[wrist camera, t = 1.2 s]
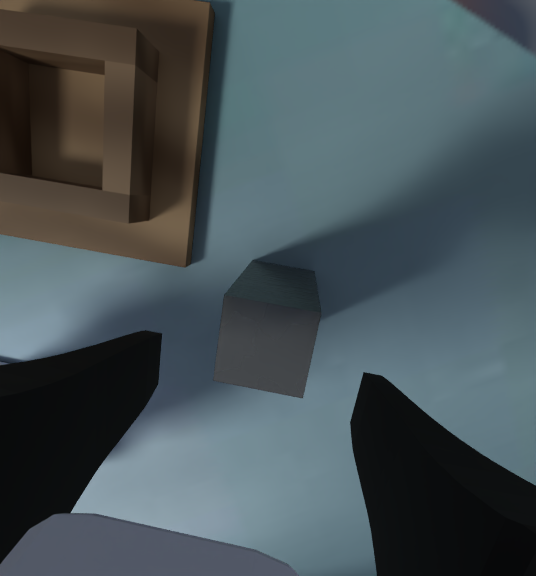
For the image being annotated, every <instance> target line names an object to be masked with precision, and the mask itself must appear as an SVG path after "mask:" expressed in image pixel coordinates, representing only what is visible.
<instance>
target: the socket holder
mask: <svg viewBox="0 0 536 576" xmlns="http://www.w3.org/2000/svg"><path fill="white" fill-rule="evenodd" d="M214 17H215V13H214V10H213V8H212V6H211V4H210V3H209V2H202V1H195V0H0V234H3V235H8V236H14V237H19V238H25V239H30V240H36V241H41V242H47V243H52V244H58V245H64V246H69V247H75V248H80V249H86V250H91V251H97V252H102V253H108V254H113V255H119V256H124V257H130V258H135V259H141V260H146V261H152V262H157V263H163V264H169V265H174V266H180V267H187V266H189V265H191V255H192V244H193V234H194V224H195V213H196V203H197V193H198V182H199V172H200V162H201V151H202V141H203V131H204V120H205V110H206V100H207V89H208V79H209V68H210V58H211V48H212V37H213V27H214Z"/></svg>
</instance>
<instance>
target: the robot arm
mask: <svg viewBox="0 0 536 576" xmlns="http://www.w3.org/2000/svg"><path fill="white" fill-rule="evenodd" d="M161 340H162V333H157V332H151V331H146V330H145V331H140V332H136V333H132V334H129V335H125V336H122V337H119V338H116V339H112V340H109V341H106V342H103V343H100V344H96V345H93V346H89V347H86V348H82V349H79V350H75V351H71V352H68V353H64V354H60V355H55V356H51V357H46V358H41V359H36V360H31V361H25V362H19V363H12V364H9V363H4V362H0V576H299V575H298V574H297V573H296V572H295V571H294V569H293V568H292V567H291V566H289V565H288V564H287V563H284V562H282V561H280V560H278V559H275V558H273V557H271V556H269V555H266V554H264V553H262V552H260V551H257V550H255V549H250V548H246V547H241V546H237V545H233V544H228V543H224V542H219V541H215V540H210V539H206V538H201V537H197V536H193V535H188V534H184V533H179V532H175V531H170V530H166V529H161V528H157V527H153V526H148V525H144V524H139V523H135V522H130V521H126V520H121V519H117V518H113V517H108V516H104V515H99V514H88V513H71V511H72V509H73V508H74V506H75V504H76V503H77V501H78V499H79V498H80V496H81V495H82V493H83V491H84V490H85V488H86V487H87V485H88V484H89V482H90V480H91V479H92V477H93V476H94V474H95V472H96V471H97V470H98V468H99V467H100V465H101V464H102V463H103V461H104V460H105V458H106V457H107V456H108V455H109V453H110V452H111V451H112V449H113V448H114V447H115V446H116V444H117V443H118V442H119V440H120V439H121V438H122V437H123V435H124V434H125V433H126V431H127V430H128V429H129V428H130V426H131V425H132V424H133V422H134V421H135V420H136V418H137V417H138V416H139V414H140V413H141V412H142V410H143V409H144V408H145V406H146V405H147V403H148V401H149V399H150V398H151V396H152V394H153V392H154V391H155V389H156V387H157V385H158V380H159V367H160V353H161ZM350 425H351V437H352V447H353V453H354V457H355V462H356V466H357V471H358V475H359V479H360V483H361V488H362V492H363V496H364V500H365V504H366V509H367V513H368V517H369V523H370V528H371V533H372V541H373V548H374V556H375V563H376V571H377V576H536V486H535V485H534V484H532V483H530V482H528V481H526V480H524V479H522V478H521V477H519V476H517V475H515V474H514V473H512V472H510V471H509V470H507V469H505V468H504V467H502V466H500V465H498V464H497V463H495V462H493V461H492V460H490V459H489V458H487V457H485V456H484V455H482V454H481V453H479V452H478V451H476V450H475V449H473V448H472V447H470V446H469V445H467V444H466V443H464V442H463V441H462V440H460V439H459V438H457V437H456V436H455V435H453V434H452V433H450V432H449V431H448V430H447V429H445V428H444V427H443V426H441V425H440V424H439V423H438V422H436V421H435V420H434V419H432V418H431V417H430V416H429V415H428V414H426V413H425V412H424V411H423V410H422V409H420V408H419V407H418V406H417V405H416V404H415V403H413V402H412V401H411V400H410V399H409V398H408V397H407V396H406V395H404V394H403V393H402V392H401V391H400V390H399V389H398V388H396V387H395V386H394V385H393V384H392V383H391V382H389V381H388V380H387V379H386V378H384V377H383V376H381V375H376V374H370V373H365V372H364V373H363V377H362V381H361V384H360V388H359V392H358V395H357V399H356V403H355V407H354V410H353V414H352V418H351V421H350Z"/></svg>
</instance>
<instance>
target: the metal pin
mask: <svg viewBox="0 0 536 576" xmlns="http://www.w3.org/2000/svg"><path fill="white" fill-rule="evenodd" d="M320 317H321V308H320V302H319V296H318V290H317V284H316V278H315V273H314V271H311V270H305V269H299V268H294V267H288V266H282V265H277V264H271V263H266V262H260V261H254V260H252V262H251V263H250V264H249V265H248V266H247V268H246V269H245V270H244V271H243V273H242V274H241V275H240V276H239V278H238V279H237V280H236V281H235V282H234V284H233V285H232V286H231V287H230V289H229V290H228V291H227V292H226V293H225V295H224V301H223V308H222V316H221V324H220V332H219V339H218V347H217V355H216V363H215V370H214V378H213V381H218V382H223V383H228V384H233V385H238V386H243V387H248V388H253V389H258V390H263V391H268V392H273V393H278V394H283V395H288V396H293V397H298V398H303V395H304V391H305V386H306V381H307V377H308V372H309V368H310V363H311V358H312V354H313V349H314V345H315V340H316V335H317V331H318V326H319V322H320Z"/></svg>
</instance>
